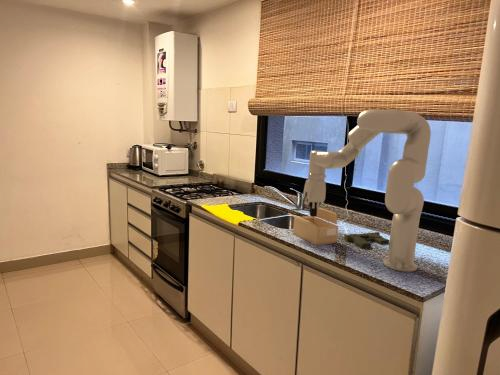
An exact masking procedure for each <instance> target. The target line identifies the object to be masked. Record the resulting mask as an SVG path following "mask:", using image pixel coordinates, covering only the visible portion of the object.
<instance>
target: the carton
mask: <svg viewBox="0 0 500 375" xmlns="http://www.w3.org/2000/svg"><path fill="white" fill-rule="evenodd" d="M299 217H300V218H303V219H305V220H308V221H310V222H312V223H313V224H315V225H317V227H316V226H313V225H311V224H309V223H306V222H304V221H301V220H299V219H297V218H295V217H293V218H294V220H293V229H292V230H293V231H292V233H293V234H292V235H294V236H296V237H298V238H300V239H303V240H304V241H307V242H308V243H311V244H313V245H314V246H321V245H322V246H323V245H328V244H336V243H338V237H339V236H338V234H339V225H338V224H334V223H331V222H329V221H326V220H323V219H321V218H318V217H312V216H310V215H308V216H307V215H306V216H299Z"/></svg>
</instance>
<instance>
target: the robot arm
mask: <svg viewBox="0 0 500 375" xmlns="http://www.w3.org/2000/svg"><path fill="white" fill-rule="evenodd" d="M356 120H357V121H356V124H357V125H356V126H355V127H354V128H352V129H351V130H350V131H349V132H348V134H347V138H348V143H347V144H346V145H345V146H343V147H342V148H341V149H340V150H339V151H323V150H311V151H310V153H309V161H308V164H309V165H308V174H307V179H306V180H305V183H304V187H303V193H302V200H303V201H304V202H303V204H305V205H308V207H309V216H312V217H316V216H317V208H320V206H321V205H323V204H325V200H326V194H327V193H326V192H327V187H326V186H327V185H326V184H327V183H326V181H325V178H326V177H327V175H326V169H327V170H334V169H342V168H344V167H346V166H348V165H349V164H350V163H351V162H353V161H355V159H356V158H357V157H358V156H359V155H360V153H361V151H362V150H363V148H364V147H366V145H368V144H370V142H371V141H372V140H374V139H375V138H376V137H377V136H379V135H380V134H381V133H383V134H384V133H385V134H397V135H406V140H405V143H404V146H403V152H402V158H400V159H397V160H395V161H394V162H393V164H391V165H390V168H389V170H388V176H387V181H386V188H385V194H384V196H385V197H384V203H385V207H386V208H387V211H389V212H390V213H392V214H393V216H392V220H391V227H390V233H389V234H390V237H389V243H388V245H389V246H388V252H387V257H386V258H384V259H382V264H383V266H385V267H386V268H389V269H391V270H395V271H399V272H404V273H408V272H409V273H412V272H415V271H417V270H418V265H417V264H416V263H415V262H414V261H415V252H416V245H417V240H418V239H417V238H418V231H419V227H420V226H419V225H420V218H421V215H422V211H423V207H424V203H425V202H424V201H425V200H424V199H425V198H424V195H423V193H422V191H421V190H420V189H419V188H418V187H415V186H414V185H415V184H417V183H420V182H421V181H423V179H424V178H425V176H426V170H427V163H428V157H429V156H428V155H429V151H430V150H429V148H430V143H431V136H432V133H431V130H432V129H431V126H430V124H429V122H428V121H427V120H426V119H425V117H424V116H422V115H420V114H418V113H415V112H413V111H408V110H401V109H400V110H399V109H366V110H363V111H362V112H361V113H360V114H359V115H358V117H357V119H356ZM316 218H317V217H316Z"/></svg>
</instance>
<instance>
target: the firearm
mask: <svg viewBox="0 0 500 375" xmlns="http://www.w3.org/2000/svg"><path fill="white" fill-rule="evenodd" d="M343 240H344V241H346V242H347V243H348V242H349V243H353V244H355V245H356V246H357V247H358V248H360V249H371V247H372V244H371V242H372V243H376V244H378V245H380V246H381V245H386V244H388V245H389V242H390V239H387V238H386V237H383V235H380V232H379V231H375V232H374V231H373V232H365V233H351V234H343Z"/></svg>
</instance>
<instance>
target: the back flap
mask: <svg viewBox="0 0 500 375" xmlns="http://www.w3.org/2000/svg"><path fill="white" fill-rule="evenodd" d="M316 218H318V219H321V220H324V221H326V222H329V223H332V224H334V225H338V216H337V213H336V212H333V211H330V210H327V209H324V208H321V207H319V208H317V216H316Z"/></svg>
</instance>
